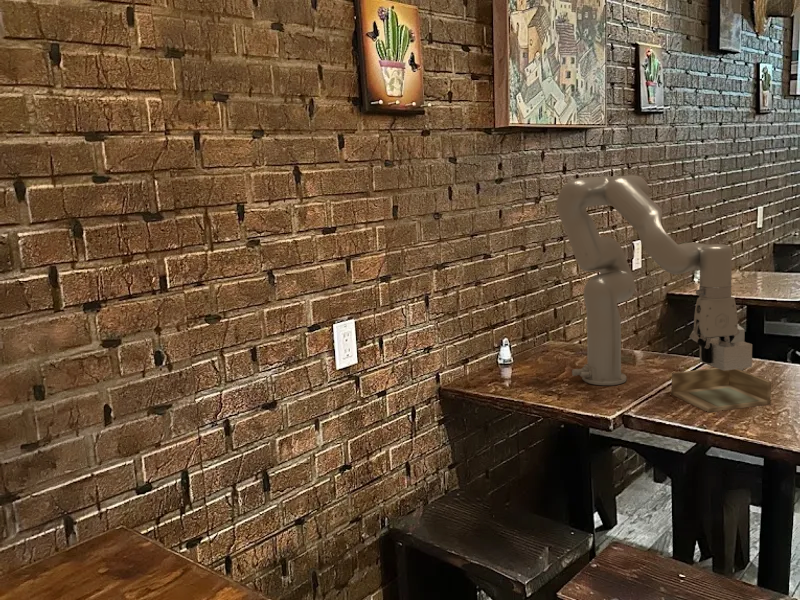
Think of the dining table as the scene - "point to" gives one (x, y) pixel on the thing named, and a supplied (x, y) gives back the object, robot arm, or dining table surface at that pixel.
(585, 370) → the robot arm
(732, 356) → the bracket
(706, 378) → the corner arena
